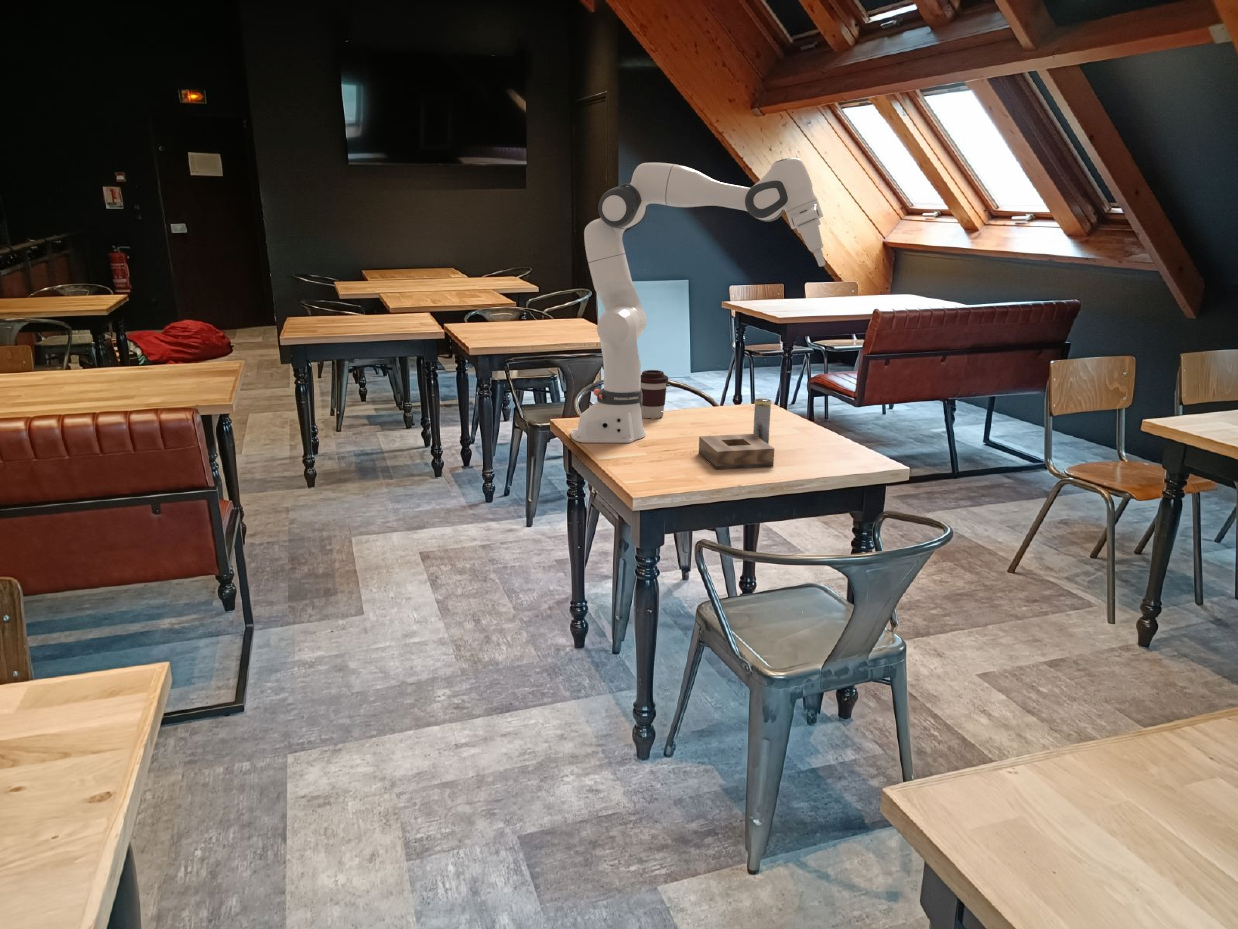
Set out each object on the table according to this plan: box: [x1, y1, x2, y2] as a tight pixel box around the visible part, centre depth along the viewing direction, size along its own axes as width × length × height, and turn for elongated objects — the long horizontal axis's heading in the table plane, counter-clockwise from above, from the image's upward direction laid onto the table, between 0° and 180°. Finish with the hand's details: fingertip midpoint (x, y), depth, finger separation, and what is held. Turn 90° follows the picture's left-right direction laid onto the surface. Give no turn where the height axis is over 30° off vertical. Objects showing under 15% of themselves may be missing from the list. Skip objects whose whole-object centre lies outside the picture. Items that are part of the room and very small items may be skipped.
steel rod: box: [752, 397, 772, 445], centre depth 255 cm, size 5×5×14 cm
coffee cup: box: [641, 369, 669, 419], centre depth 291 cm, size 10×10×15 cm
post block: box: [698, 433, 775, 471], centre depth 244 cm, size 16×16×5 cm
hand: (822, 265), depth 240 cm, fingers open, 8 cm apart
